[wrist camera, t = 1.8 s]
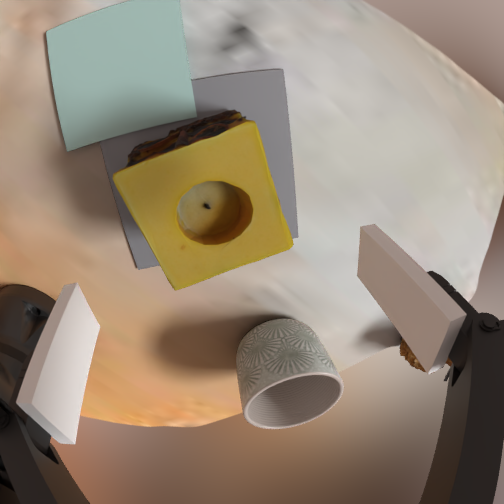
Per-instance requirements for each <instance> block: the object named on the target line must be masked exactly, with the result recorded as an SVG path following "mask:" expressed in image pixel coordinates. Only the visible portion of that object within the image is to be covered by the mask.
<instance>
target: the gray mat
mask: <svg viewBox="0 0 504 504" xmlns="http://www.w3.org/2000/svg"><path fill="white" fill-rule="evenodd" d="M191 83H192V89H193V95H194V101H195V107H196V113H197V117H194V118H189V119H184V120H180V121H175V122H170V123H166V124H162V125H157V126H153V127H149V128H145V129H141V130H137V131H133V132H130V133H126V134H122V135H119V136H115V137H112V138H109V139H105V140H102V141H100V145H101V149H102V153H103V157H104V161H105V165H106V169H107V173H108V176H109V180H110V184H111V187H112V191H113V194H114V198H115V201H116V204H117V208H118V211H119V214H120V217H121V221H122V224H123V227H124V230H125V233H126V236H127V239H128V242H129V245H130V248H131V251H132V253H133V256H134V259H135V262H136V265H137V267H138V270H140V269H144V268H149V267H154V266H159V265H160V264H159V262H158V261H157V259H156V257H155V255H154V254H153V252H152V250H151V248H150V246H149V245H148V243H147V241H146V239H145V237H144V236H143V234H142V232H141V230H140V228H139V227H138V225H137V223H136V222H135V220H134V218H133V217H132V215H131V213H130V211H129V209H128V207H127V205H126V204H125V202H124V200H123V198H122V196H121V195H120V193H119V191H118V189H117V187H116V185H115V183H114V181H113V174H114V173H115V172H117V171H119V170H120V169H122V168H125V166H126V165H127V163H128V155H129V154H130V153H131V151H132V150H133V148H134V147H135V146H137V145H139V144H141V143H144V142H145V141H154V140H156V139H161V138H165V137H167V136H168V134H169V132H170V130H176V128H178V127H181V126H183V125H187V124H190V123H192V122H194V121H197V120H200V119H203V118H206V117H210V116H213V115H217V114H220V113H222V112H225V111H228V110H236V111H237V112H240V113H241V115H242V117H244V116H246V119H247V120H253V121H255V123H256V125H257V127H258V130H259V132H260V136H261V139H262V143H263V147H264V150H265V154H266V159H267V163H268V167H269V170H270V173H271V175H272V179H273V182H274V186H275V189H276V192H277V195H278V198H279V200H280V205H281V210H282V213H283V215H284V217H285V220H286V222H287V225H288V227H289V230H290V233H291V236H292V239H293V238H298V224H297V208H296V194H295V181H294V168H293V157H292V146H291V135H290V125H289V115H288V105H287V96H286V87H285V79H284V71H283V69H278V70H265V71H255V72H246V73H237V74H230V75H223V76H216V77H210V78H204V79H198V80H193V81H191Z"/></svg>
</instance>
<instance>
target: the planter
mask: <svg viewBox="0 0 504 504" xmlns="http://www.w3.org/2000/svg"><path fill="white" fill-rule="evenodd" d="M236 368H237V378H238V385H239V392H240V398H241V404H242V410H243V415H244V418H245V419H246V420H247V421H248V422H249V423H250V424H252V425H254V426H256V427H260V428H265V429H282V428H289V427H293V426H298V425H301V424H304V423H306V422H309V421H311V420H313V419H315V418H317V417H319V416H321V415H323V414H324V413H325V412H327V411H328V410H330V409H331V408H332V407H333V406H334V405H335V404H336V403H337V402H338V401H339V399H340V398H341V396H342V394H343V390H344V384H343V381H342V379H341V377H340V375H339V373H338V371H337V370H336V368H335V366H334V364H333V362H332V360H331V358H330V356H329V355H328V353H327V351H326V349H325V348H324V346H323V344H322V342H321V341H320V339H319V338H318V337H317V335H316V334H315V332H314V331H313V330H312V329H311V328H310V327H309V326H307V325H306V324H304V323H302V322H300V321H297V320H293V319H275V320H271V321H267V322H265V323H262V324H260V325H258V326H256V327H255V328H253V329H252V330H251V331H249V332H248V333H247V334H246V335H245V336H244V338H243V339H242V340H241V342H240V344H239V347H238V349H237V355H236Z"/></svg>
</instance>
